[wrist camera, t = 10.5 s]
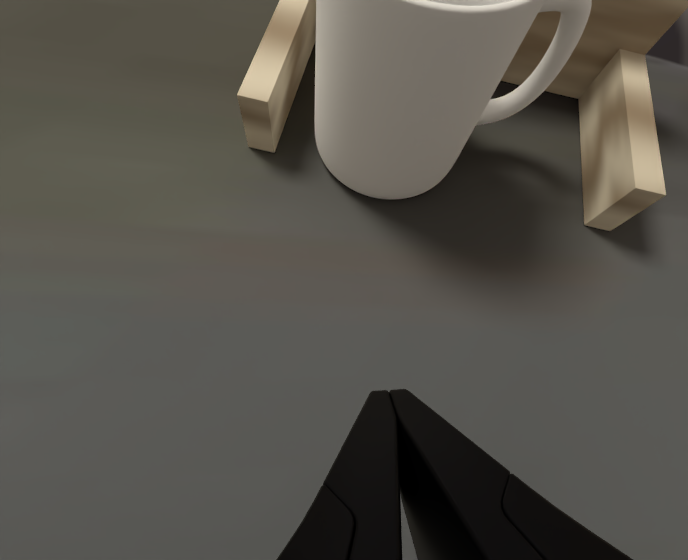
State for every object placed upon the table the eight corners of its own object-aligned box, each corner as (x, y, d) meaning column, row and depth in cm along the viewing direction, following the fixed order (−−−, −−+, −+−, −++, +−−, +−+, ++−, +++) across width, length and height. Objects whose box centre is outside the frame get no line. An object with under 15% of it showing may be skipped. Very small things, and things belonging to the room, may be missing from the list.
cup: (308, 93, 22) (307, -144, 13) (490, 90, 24) (606, -124, 15) (321, 208, 20) (332, 8, 10) (528, 197, 21) (704, 13, 12)
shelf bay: (610, 231, 21) (778, 122, 13) (248, 146, 21) (214, -10, 13) (599, 88, 25) (721, -54, 18) (300, 18, 25) (296, -154, 18)
